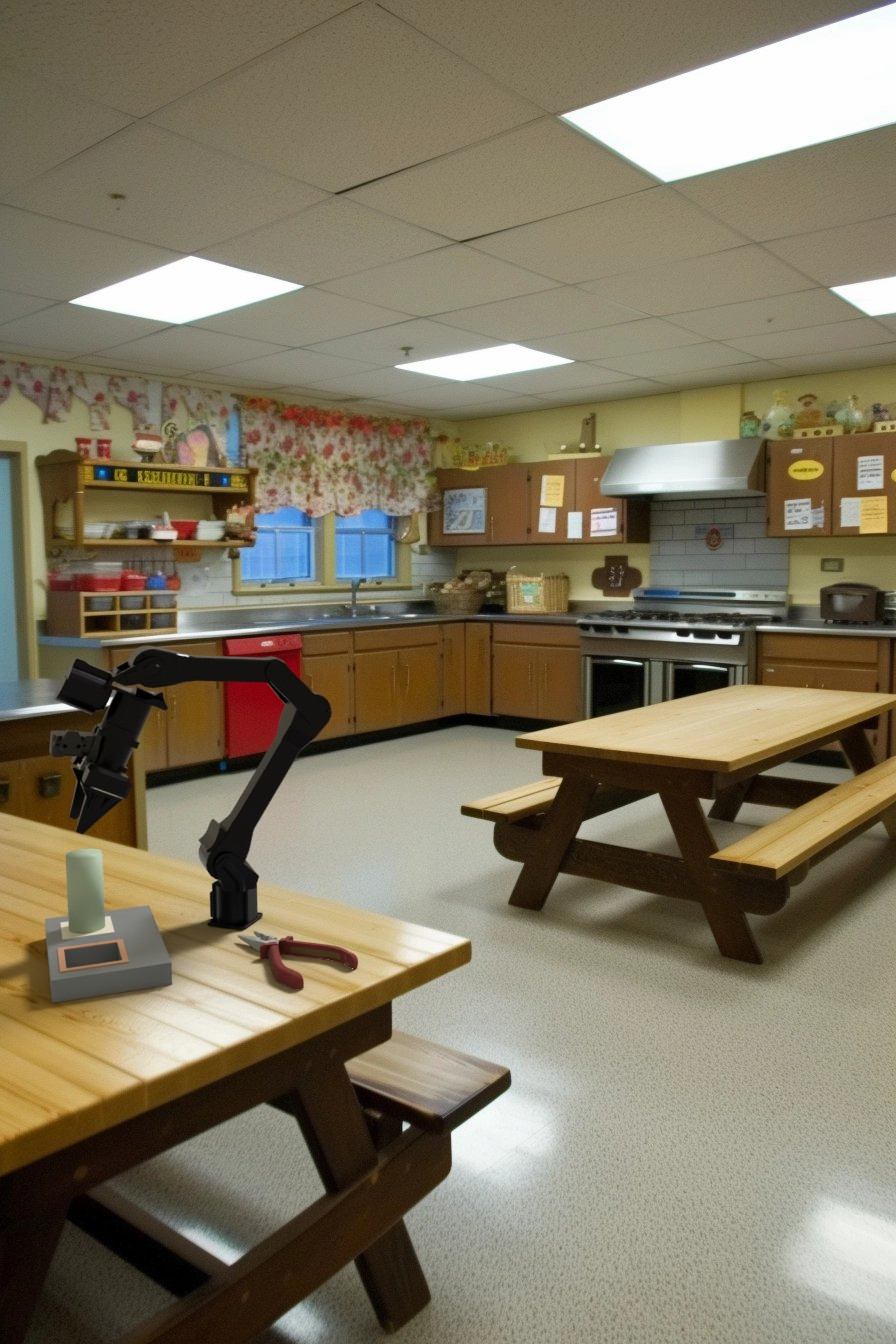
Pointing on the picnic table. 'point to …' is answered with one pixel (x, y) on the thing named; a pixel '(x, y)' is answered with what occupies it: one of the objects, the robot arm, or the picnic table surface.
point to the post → (85, 890)
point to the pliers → (286, 946)
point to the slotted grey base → (107, 956)
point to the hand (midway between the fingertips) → (75, 825)
